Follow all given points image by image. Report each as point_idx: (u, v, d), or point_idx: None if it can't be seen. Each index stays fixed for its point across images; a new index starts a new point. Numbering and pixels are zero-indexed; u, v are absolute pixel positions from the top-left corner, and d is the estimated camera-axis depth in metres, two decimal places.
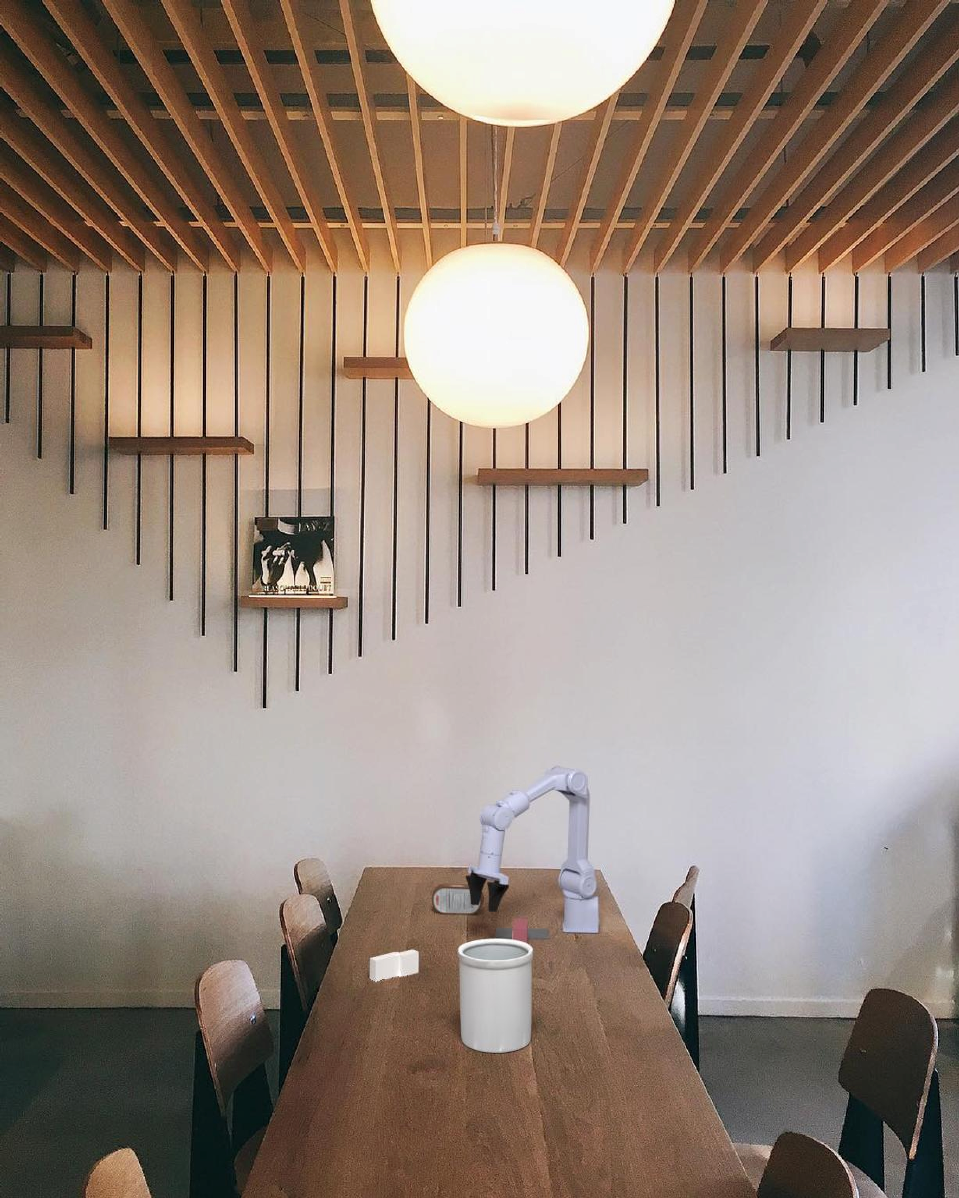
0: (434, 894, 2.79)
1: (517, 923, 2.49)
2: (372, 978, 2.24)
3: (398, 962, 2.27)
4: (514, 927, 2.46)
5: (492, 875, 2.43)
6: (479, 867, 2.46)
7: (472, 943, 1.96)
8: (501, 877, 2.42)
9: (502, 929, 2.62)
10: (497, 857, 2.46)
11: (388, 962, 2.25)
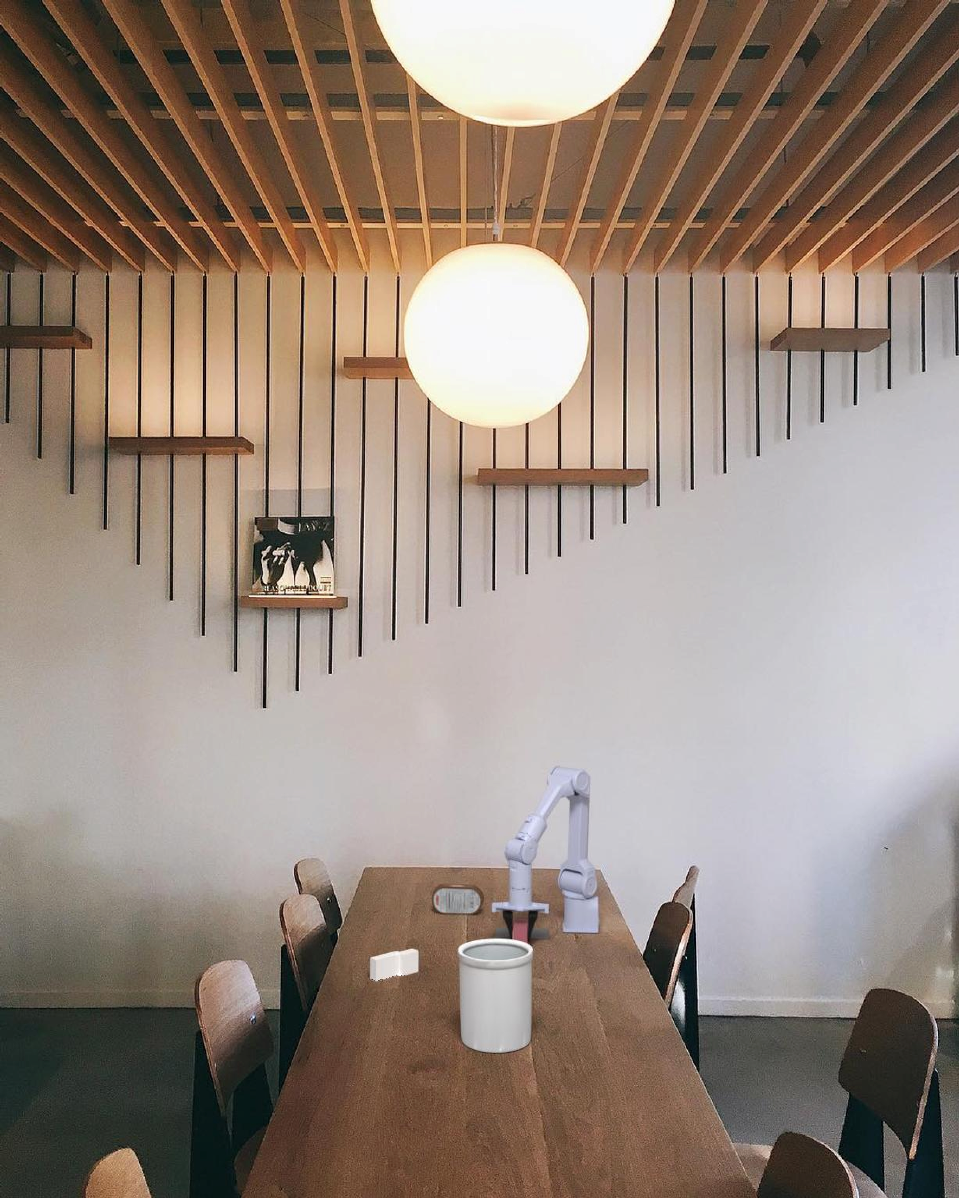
0: (434, 894, 2.79)
1: (517, 923, 2.49)
2: (372, 977, 2.24)
3: (398, 961, 2.28)
4: (514, 927, 2.46)
5: (536, 907, 2.47)
6: (518, 904, 2.46)
7: (472, 943, 1.96)
8: (547, 907, 2.48)
9: (502, 929, 2.62)
10: (531, 889, 2.49)
11: (389, 961, 2.26)
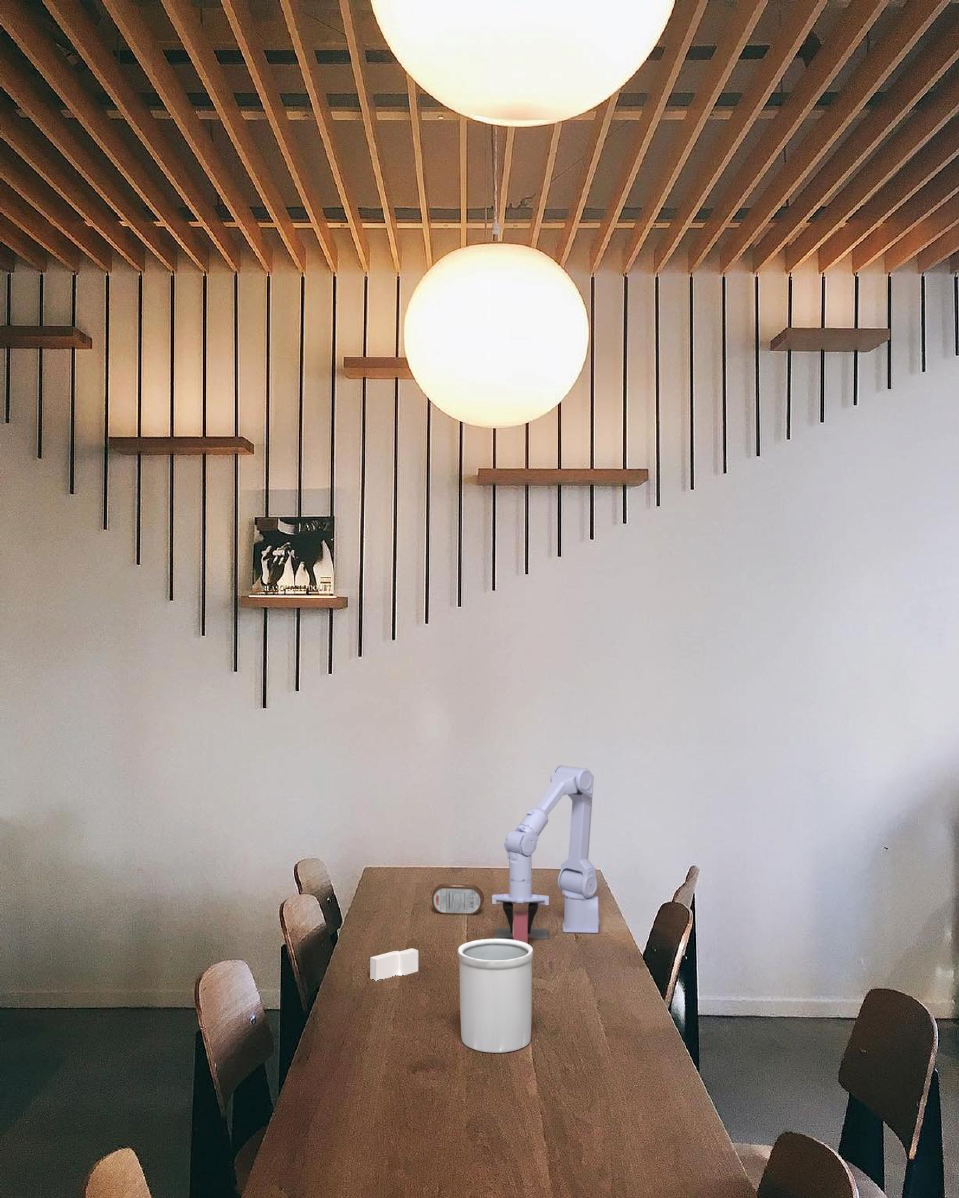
0: (434, 894, 2.79)
1: (517, 915, 2.49)
2: (373, 977, 2.24)
3: (398, 961, 2.28)
4: (515, 919, 2.46)
5: (536, 899, 2.47)
6: (518, 895, 2.47)
7: (472, 943, 1.96)
8: (547, 898, 2.48)
9: (502, 929, 2.62)
10: (531, 881, 2.49)
11: (389, 961, 2.26)
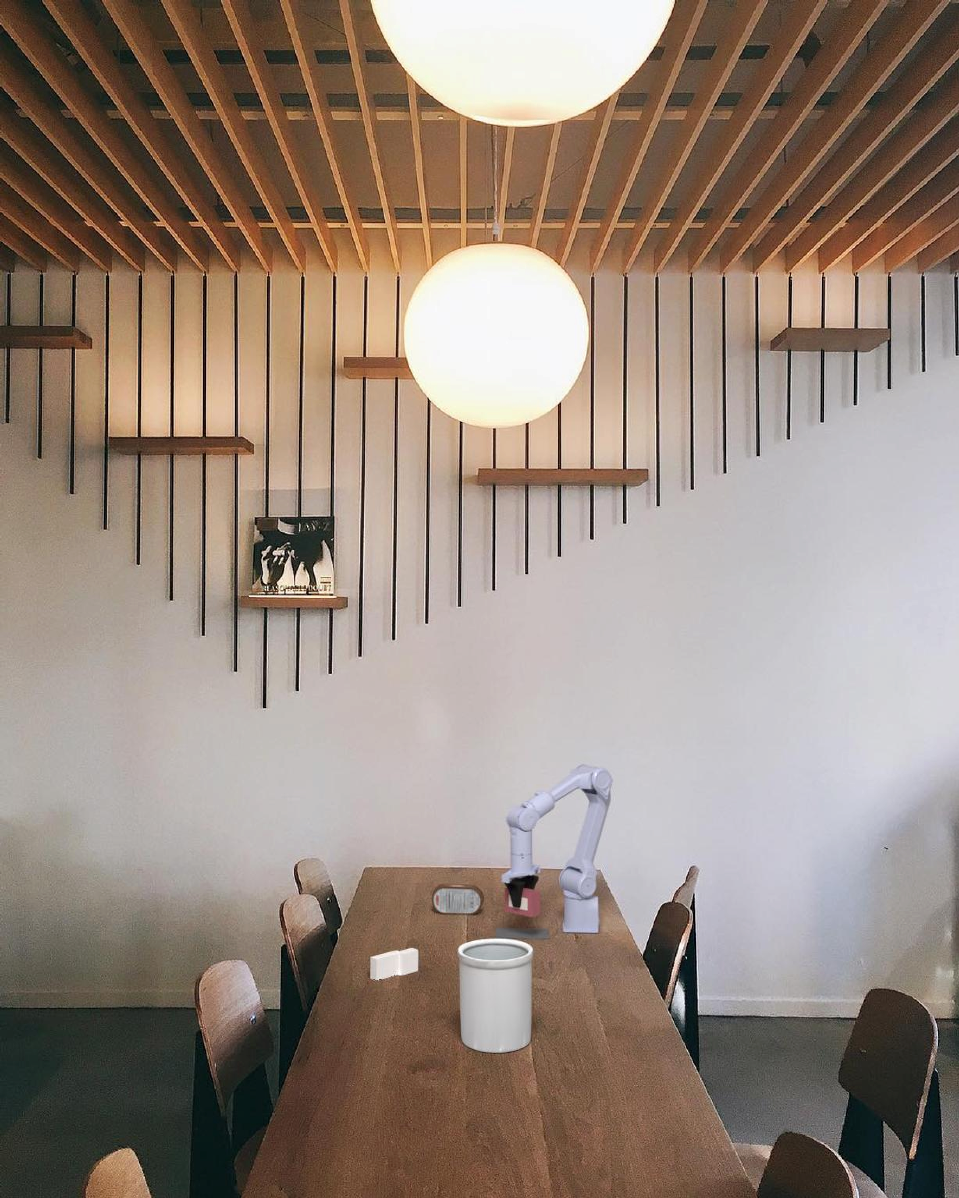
0: (434, 894, 2.79)
1: None
2: (373, 977, 2.25)
3: (398, 960, 2.28)
4: (529, 892, 2.52)
5: (535, 869, 2.58)
6: (529, 868, 2.54)
7: (472, 943, 1.96)
8: (539, 867, 2.60)
9: (502, 929, 2.62)
10: None
11: (389, 960, 2.26)
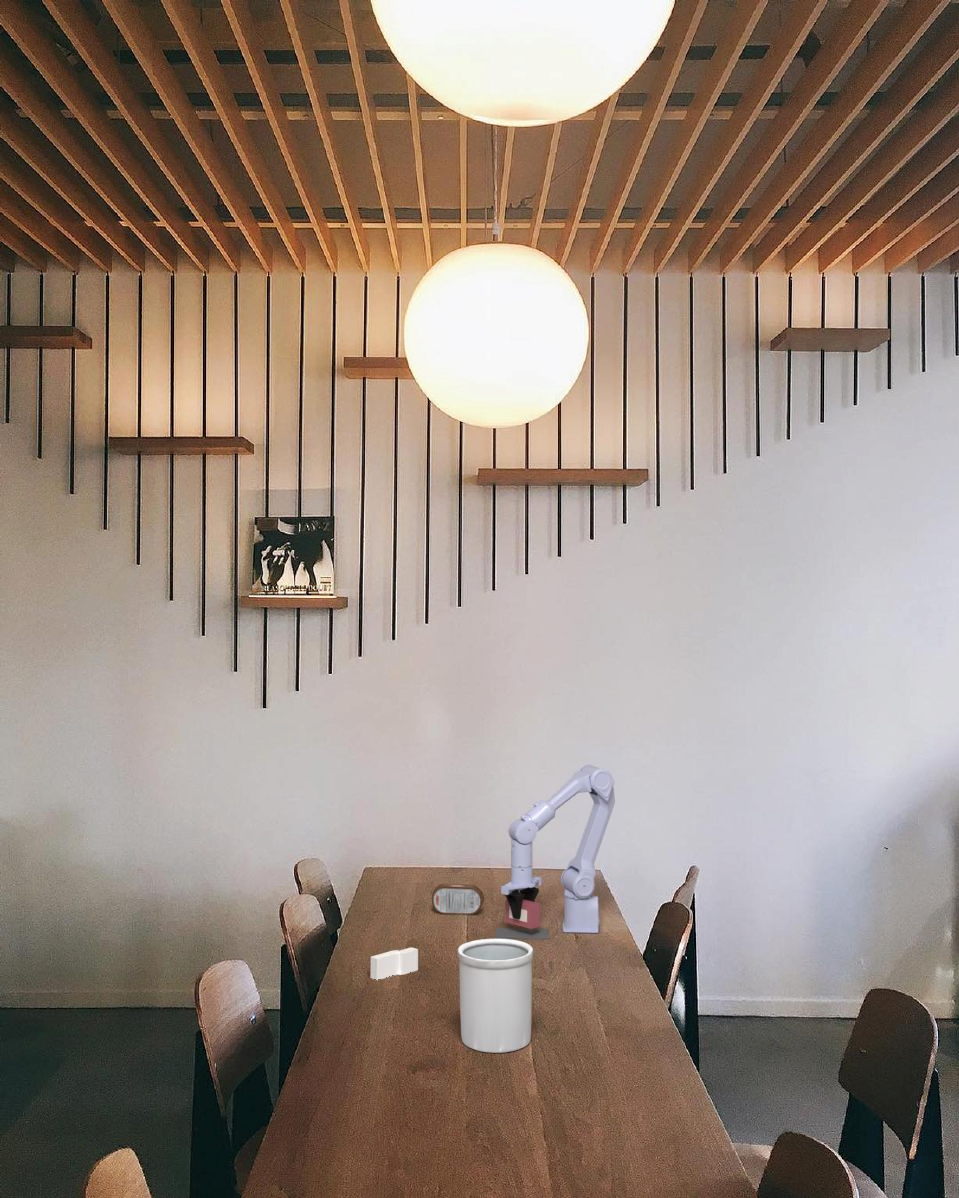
0: (434, 894, 2.79)
1: None
2: (373, 976, 2.25)
3: (398, 960, 2.28)
4: (529, 904, 2.57)
5: (536, 881, 2.62)
6: (529, 881, 2.58)
7: (472, 943, 1.96)
8: (540, 879, 2.65)
9: (502, 929, 2.62)
10: None
11: (389, 960, 2.27)
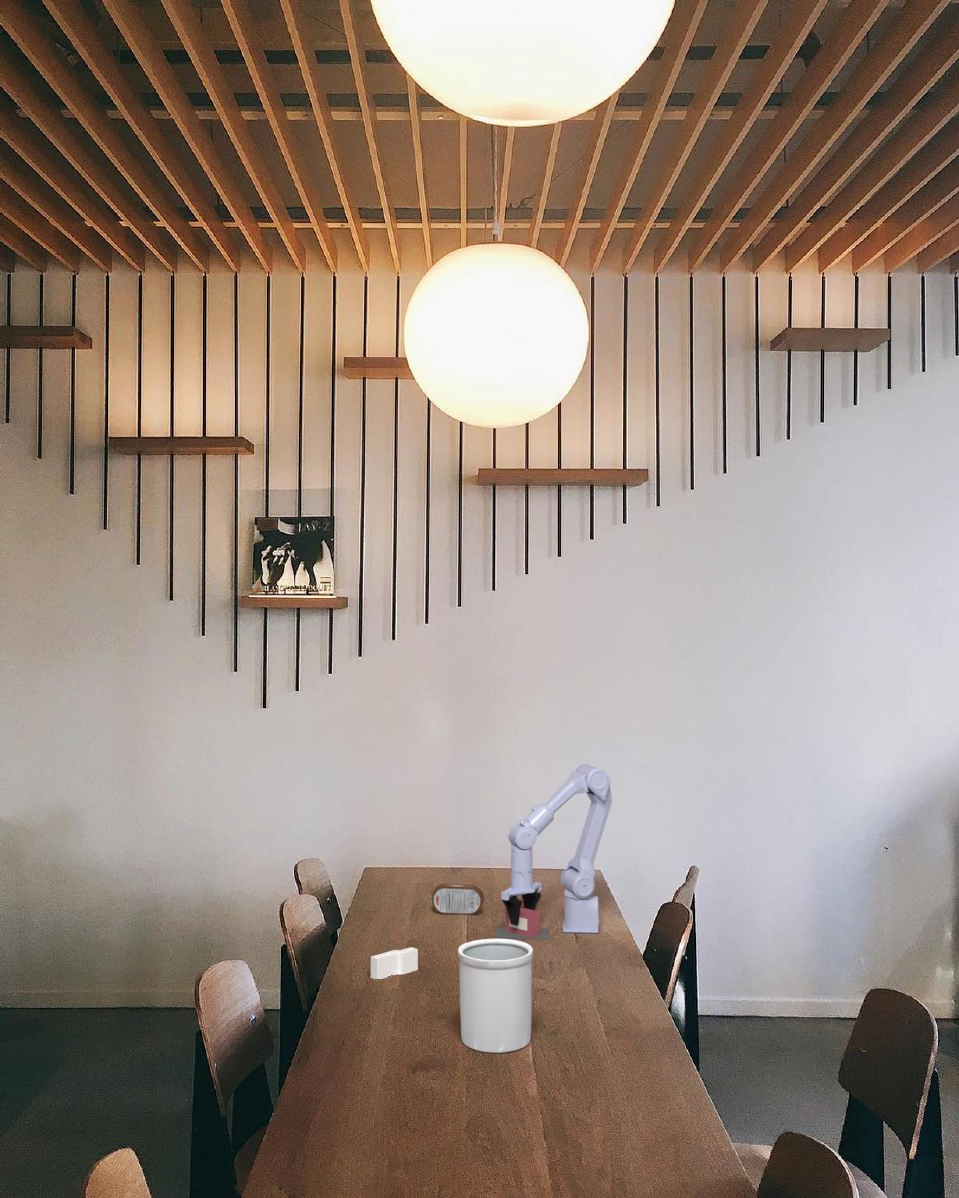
0: (434, 894, 2.79)
1: (520, 910, 2.59)
2: (373, 976, 2.25)
3: (398, 960, 2.29)
4: (529, 913, 2.57)
5: (536, 887, 2.62)
6: (529, 886, 2.58)
7: (472, 943, 1.96)
8: (540, 884, 2.65)
9: (502, 929, 2.62)
10: None
11: (389, 960, 2.27)
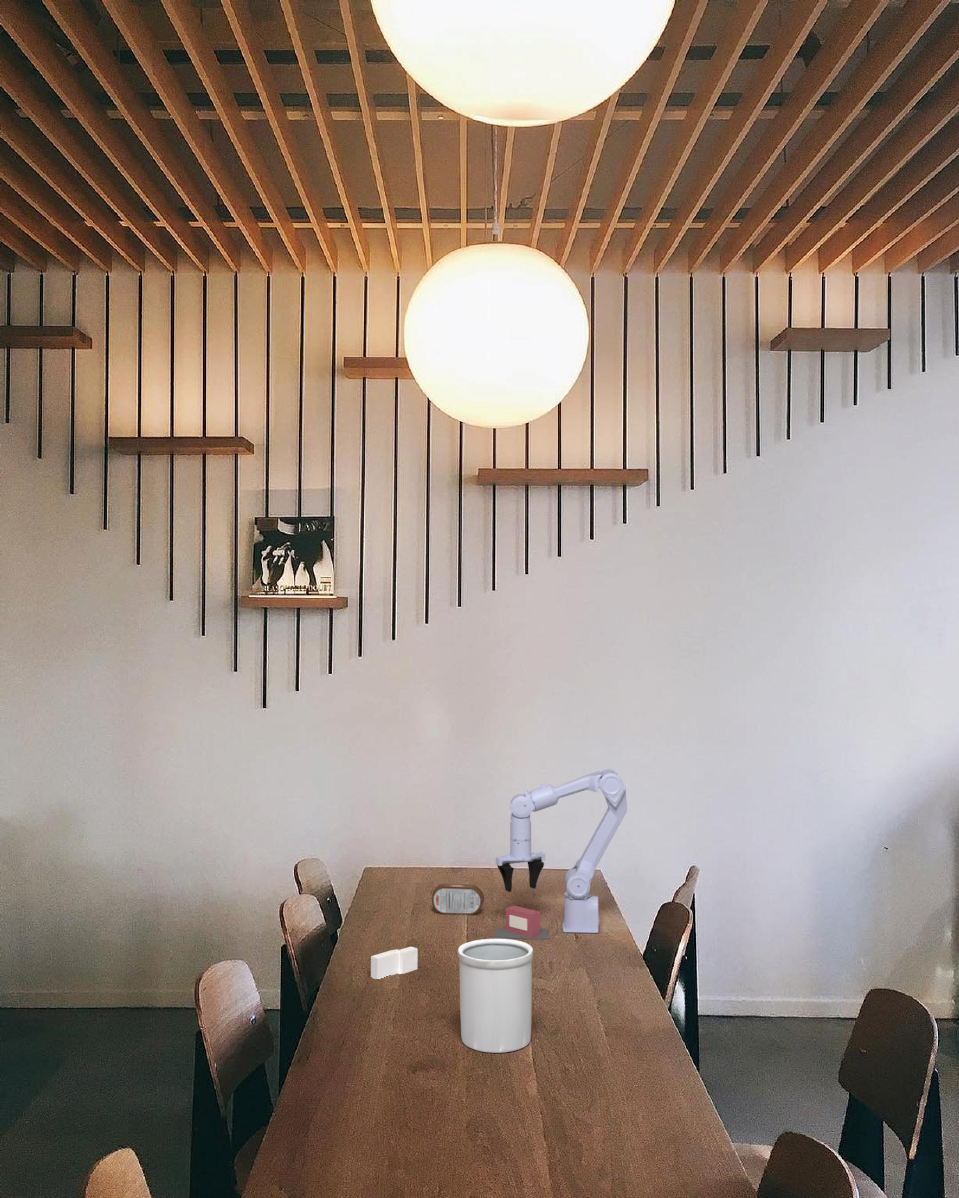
0: (434, 894, 2.79)
1: (520, 910, 2.59)
2: (373, 976, 2.25)
3: (398, 959, 2.29)
4: (529, 913, 2.57)
5: (536, 856, 2.66)
6: (524, 854, 2.63)
7: (472, 943, 1.96)
8: (543, 854, 2.68)
9: (502, 929, 2.62)
10: None
11: (389, 959, 2.27)
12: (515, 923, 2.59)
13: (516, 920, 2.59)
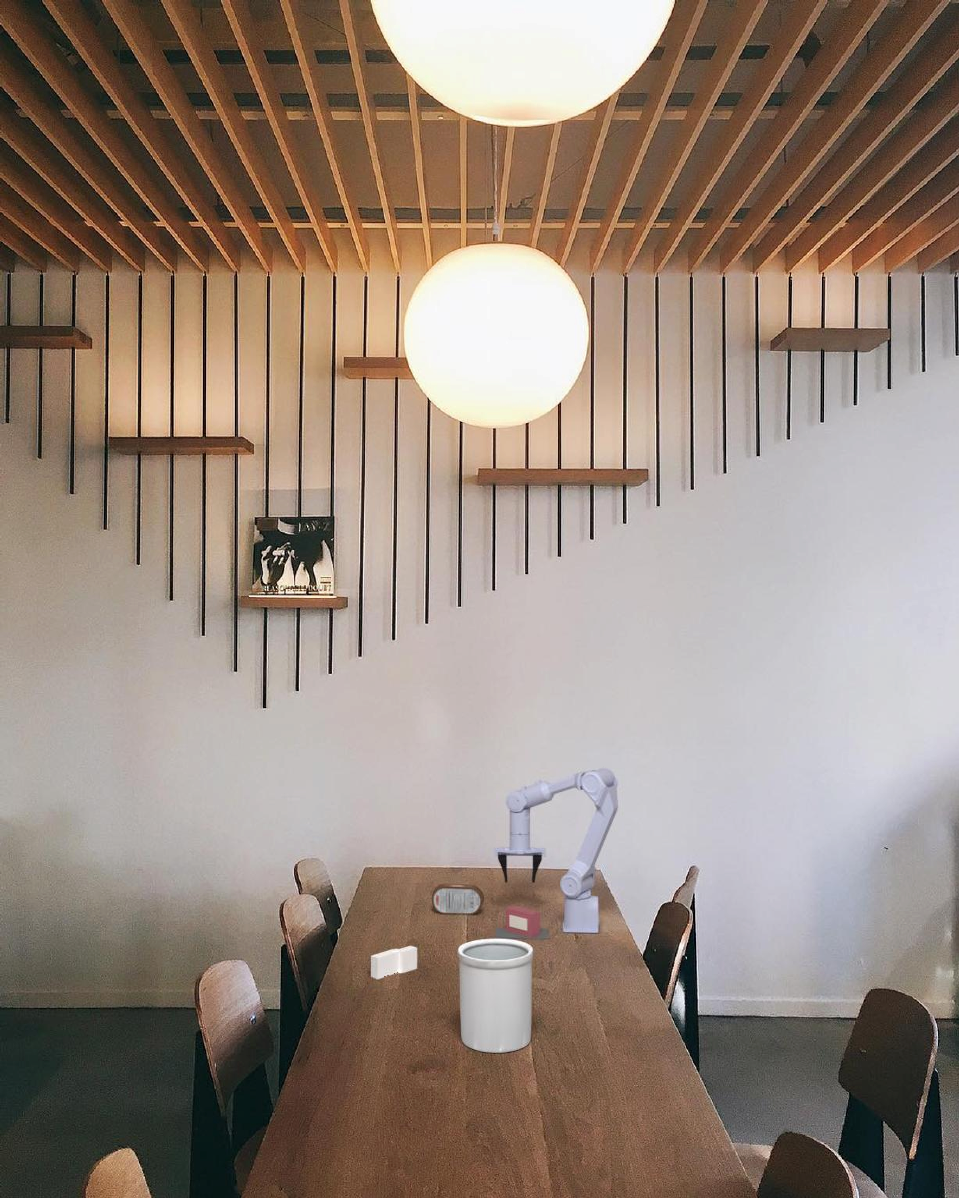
0: (434, 894, 2.79)
1: (520, 910, 2.59)
2: (374, 975, 2.26)
3: (398, 959, 2.30)
4: (529, 913, 2.57)
5: (534, 851, 2.73)
6: (519, 848, 2.72)
7: (472, 943, 1.96)
8: (544, 850, 2.73)
9: (502, 929, 2.62)
10: (529, 835, 2.75)
11: (389, 959, 2.28)
12: (515, 923, 2.59)
13: (516, 920, 2.59)
